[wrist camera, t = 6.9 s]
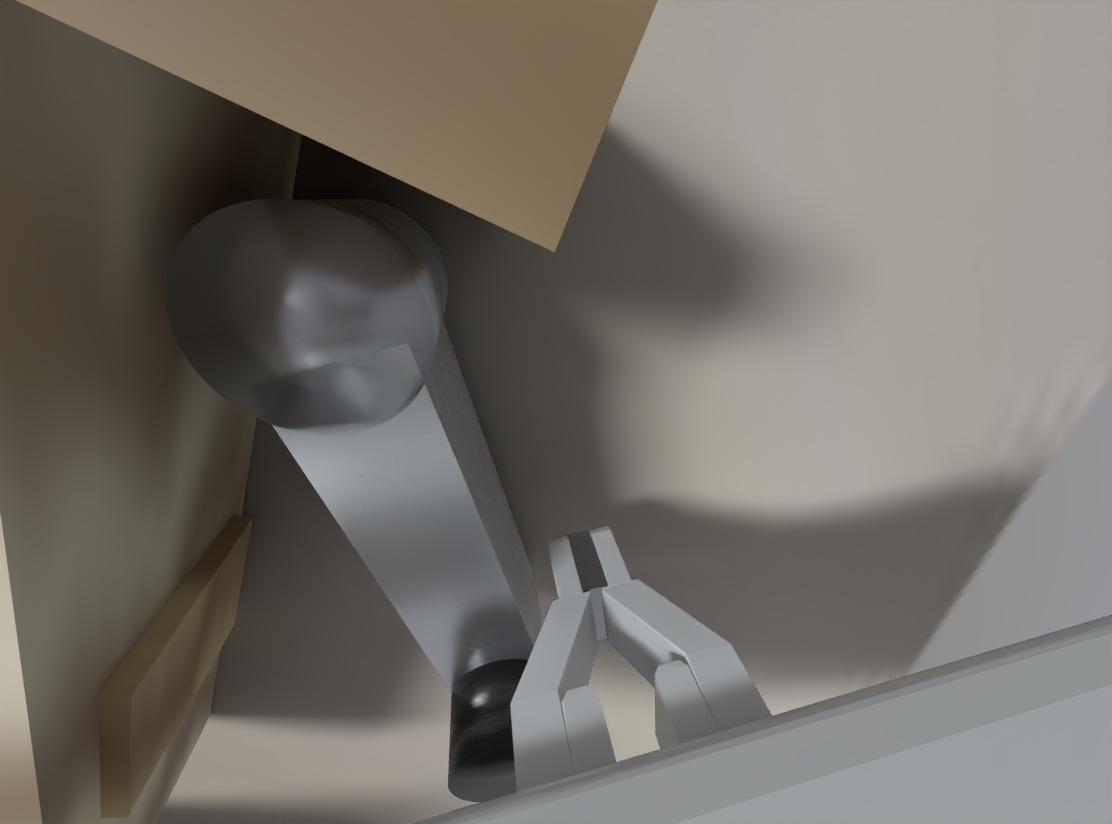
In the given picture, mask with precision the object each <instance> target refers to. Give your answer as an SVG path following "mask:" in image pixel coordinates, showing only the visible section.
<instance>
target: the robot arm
mask: <svg viewBox="0 0 1112 824" xmlns="http://www.w3.org/2000/svg"><path fill="white" fill-rule="evenodd" d="M547 546H548V550H549V555H550V560H551V565H552V570H553V575H554V580H555V585H556V590H557V595H558V599H556V600H553V601H552V604H551V606H550V609H549V611H548V613H547V616H546V618H545V621H544V623H543V626H542V628H541V630H540V633H539V635H538V638H537V640H536V643H535V645H534V648H533V650H532V652H531V655H530V657H529V660H528V662H527V665H526V667H525V669H524V672H523V674H522V677H521V679H520V682H519V684H518V686H517V689H516V691H515V694H514V696H513V699H512V701H511V704H510V706H511V720H512V735H513V749H514V763H515V777H516V792H514V793H511V794H508V795H504V796H501V797H498V798H494V799H491V800H488V801H484V802H481V803H478V804H474V805H471V806H467V807H464V808H461V809H457V810H454V811H451V812H447V813H444V814H441V815H437V816H434V817H431V818H427V819H424V820H420V821H417V822H414V823H410V824H1112V615H1110V616H1106V617H1103V618H1100V619H1096V620H1093V621H1089V622H1086V623H1083V624H1079V625H1076V626H1073V627H1069V628H1066V629H1062V630H1059V631H1056V632H1052V633H1049V634H1046V635H1042V636H1039V637H1036V638H1032V639H1029V640H1026V641H1022V642H1019V643H1015V644H1012V645H1009V646H1005V647H1002V648H999V649H995V650H992V651H988V652H985V653H982V654H978V655H975V656H972V657H968V658H965V659H962V660H958V661H955V662H951V663H948V664H945V665H941V666H938V667H935V668H931V669H928V670H925V671H921V672H918V673H914V674H911V675H908V676H904V677H901V678H898V679H894V680H891V681H888V682H884V683H881V684H877V685H874V686H871V687H867V688H864V689H861V690H857V691H854V692H851V693H847V694H844V695H840V696H837V697H834V698H830V699H827V700H824V701H820V702H817V703H814V704H810V705H807V706H803V707H800V708H797V709H793V710H790V711H787V712H783V713H780V714H777V715H773V716H772V714H771V713H770V711H769V709H768V708H767V706H766V704H765V702H764V701H763V699H762V697H761V695H760V694H759V692H758V690H757V688H756V687H755V685H754V683H753V681H752V680H751V678H750V676H749V675H748V673H747V671H746V669H745V668H744V666H743V664H742V662H741V661H740V659H739V657H738V655H737V654H736V652H735V650H734V648H733V647H732V645H731V644H730V643H729V642H727V641H726V640H725V639H723V638H722V637H720V636H719V635H717V634H716V633H715V632H713V631H712V630H710V629H709V628H708V627H706V626H705V625H703V624H702V623H700V622H699V621H698V620H696V619H695V618H693V617H692V616H690V615H689V614H688V613H686V612H685V611H683V610H682V609H681V608H679V607H678V606H676V605H675V604H673V603H672V602H671V601H669V600H668V599H666V598H665V597H663V596H662V595H661V594H659V593H658V592H656V591H655V590H654V589H652V588H651V587H649V586H648V585H646V584H645V583H644V582H642V581H641V580H639V579H635V580H632V579H631V576H630V574H629V571H628V569H627V567H626V564H625V562H624V559H623V557H622V555H621V552H620V550H619V548H618V545H617V543H616V540H615V538H614V536H613V533H612V531H611V528H610V527H609V526H604V527H600V528H596V529H592V530H588V531H583V532H579V533H575V534H570V535H567V536H562V537H558V538H553V539H548V540H547ZM607 638H608V641H609V642H610V643H611V644H612V645H613V646H614V647H615V648H616V649H617V650H618V651H619V652H620V653H621V654H622V655H623V656H624V657H625V659H626V660H627V661H628V662H629V663H630V664H631V665H632V666H633V667H634V668H635V669H636V670H637V671H638V672H639V673H640V674H641V675H642V676H643V677H644V678H645V679H646V680H647V681H648V682H649V683H650V684H651V685H652V686H653V687H654V688H655V734H656V737H657V740H658V743H659V746H660V749H659V750H656V751H652V752H649V753H645V754H642V755H639V756H635V757H632V758H629V759H625V760H622V761H619V762H616V759H615V755H614V751H613V747H612V744H611V740H610V736H609V732H608V728H607V725H606V721H605V717H604V713H603V709H602V706H601V702H600V698H599V694H598V690H596V689H595V688H593V687H591V686H589V685H588V684H589V679H590V675H591V671H592V667H593V662H594V658H595V654H596V650H597V646H598V641H599V640H603V639H607Z"/></svg>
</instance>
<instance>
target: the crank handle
mask: <svg viewBox="0 0 1112 824" xmlns="http://www.w3.org/2000/svg"><path fill="white" fill-rule="evenodd" d="M447 297H448V277H447V271H446V268H445V264H444V261H443V259H442V256H441V254H440V252H439V250H438V248H437V246H436V244H435V243H434V241H433V240H432V239H431V237H430V236H429V235H428V233H427V232H426V231H425V230H424V229H423V228H422V227H421V226H420V225H419V224H418V223H417V222H416V221H414V220H413V219H412V218H411V217H409V216H408V215H406V214H405V213H403V212H401V211H400V210H398V209H396V208H394V207H392V206H389V205H387V204H384V203H381V202H377V201H373V200H365V199H259V200H253V201H246V202H240V203H237V204H234V205H231V206H228V207H225V208H222V209H220V210H218V211H216V212H214V213H212V214H210V215H208V216H207V217H205V218H204V219H203V220H202V221H200V222H199V223H198V224H196V225H195V226H194V227H193V228H192V229H191V230H190V231H189V232H188V233H187V234H186V235H185V237H184V238H183V239H182V240H181V242H180V244H179V245H178V247H177V249H176V250H175V252H174V254H173V257H172V260H171V262H170V265H169V268H168V273H167V279H166V306H167V312H168V318H169V321H170V324H171V327H172V330H173V333H174V336H175V338H176V340H177V342H178V344H179V346H180V348H181V350H182V352H183V353H184V355H185V356H186V358H187V359H188V361H189V363H190V364H191V365H192V367H193V368H194V369H195V370H196V371H197V373H198V374H199V375H200V376H201V378H202V379H203V380H204V381H205V382H206V383H207V384H208V385H209V386H210V387H211V388H212V389H213V390H215V391H216V392H217V393H218V394H220V395H221V396H222V397H223V398H224V399H226V400H227V401H228V402H230V403H231V404H233V405H234V406H236V407H237V408H239V409H240V410H242V411H244V412H246V413H248V414H249V415H251V416H253V417H255V418H257V419H259V420H262V421H264V422H266V423H269V424H271V425H273V427H274V428H275V430H276V431H277V433H278V434H279V436H280V437H281V439H282V440H283V442H284V443H285V445H286V446H287V448H288V449H289V451H290V452H291V454H292V455H293V457H294V458H295V460H296V461H297V463H298V464H299V466H300V467H301V469H302V470H303V472H304V473H305V475H306V476H307V478H308V479H309V481H310V482H311V484H312V485H313V487H314V488H315V490H316V491H317V493H318V494H319V496H320V497H321V499H322V500H323V502H324V503H325V505H326V506H327V508H328V509H329V511H330V512H331V514H332V515H333V517H334V518H335V520H336V521H337V523H338V524H339V526H340V527H341V529H342V530H343V532H344V533H345V535H346V536H347V538H348V539H349V541H350V542H351V544H352V545H353V547H354V548H355V550H356V551H357V553H358V554H359V556H360V557H361V559H362V560H363V562H364V563H365V564H366V566H367V567H368V569H369V570H370V572H371V573H372V575H373V576H374V578H375V579H376V581H377V582H378V584H379V585H380V587H381V588H382V590H383V591H384V593H385V594H386V596H387V597H388V599H389V600H390V602H391V603H392V605H393V606H394V608H395V609H396V611H397V612H398V614H399V615H400V617H401V618H402V620H403V621H404V623H405V624H406V626H407V627H408V629H409V630H410V632H411V633H412V635H413V636H414V638H415V639H416V641H417V642H418V644H419V645H420V647H421V648H422V650H423V651H424V653H425V654H426V656H427V657H428V659H429V660H430V662H431V663H432V665H433V666H434V668H435V669H436V671H437V672H438V674H439V675H440V677H441V678H442V680H443V681H444V683H445V684H446V686H447V687H448V689H449V690H450V692H451V693H452V695H451V721H450V747H449V773H448V787H449V790H450V792H451V793H452V794H453V795H454V796H456V797H458V798H460V799H463V800H467V801H472V802H484V801H488V800H491V799H494V798H498V797H501V796H504V795H508V794H511V793H514V792H516V777H515V763H514V749H513V735H512V720H511V706H510V704H511V701H512V699H513V696H514V694H515V691H516V689H517V686H518V684H519V682H520V679H521V677H522V674H523V672H524V669H525V667H526V665H527V662H528V660H529V657H530V655H531V652H532V650H533V648H534V645H535V643H536V640H537V638H538V635H539V633H540V630H541V628H542V626H543V624H542V618H541V612H540V606H539V600H538V594H537V589H536V583H535V577H534V574H533V571H532V568H531V565H530V562H529V560H528V557H527V554H526V551H525V548H524V546H523V543H522V540H521V537H520V534H519V532H518V529H517V526H516V523H515V520H514V518H513V515H512V512H511V509H510V506H509V504H508V501H507V498H506V495H505V492H504V490H503V487H502V484H501V481H500V478H499V476H498V473H497V470H496V467H495V464H494V462H493V459H492V456H491V453H490V450H489V448H488V445H487V442H486V439H485V436H484V434H483V431H482V428H481V425H480V423H479V420H478V417H477V414H476V411H475V409H474V406H473V403H472V400H471V397H470V395H469V392H468V389H467V386H466V383H465V381H464V378H463V375H462V372H461V369H460V367H459V364H458V361H457V358H456V355H455V353H454V350H453V347H452V344H451V341H450V339H449V336H448V333H447V330H446V327H445V325H444V322H443V316H444V311H445V307H446V303H447Z"/></svg>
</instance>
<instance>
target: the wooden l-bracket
mask: <svg viewBox="0 0 1112 824" xmlns="http://www.w3.org/2000/svg"><path fill="white" fill-rule="evenodd" d="M656 3H657V0H0V824H156V822H157V820H158V818H159V816H160V814H161V812H162V810H163V808H164V806H165V804H166V802H167V800H168V798H169V796H170V794H171V792H172V790H173V788H174V786H175V784H176V782H177V780H178V778H179V776H180V774H181V772H182V770H183V768H184V766H185V764H186V762H187V760H188V758H189V756H190V754H191V752H192V750H193V748H194V746H195V744H196V742H197V740H198V738H199V736H200V734H201V732H202V730H203V728H204V726H205V724H206V722H207V720H208V719H209V717H210V713H211V707H212V700H213V694H214V688H215V681H216V675H217V669H218V662H219V656H220V650H221V648H222V646H223V644H224V643H225V641H226V639H227V637H228V635H229V634H230V632H231V630H232V628H233V626H234V625H235V620H236V614H237V608H238V603H239V597H240V591H241V585H242V579H243V574H244V568H245V562H246V556H247V550H248V545H249V539H250V533H251V527H252V521H253V517H250V516H244V515H242V511H243V504H244V498H245V492H246V485H247V479H248V473H249V466H250V460H251V454H252V447H253V441H254V435H255V428H256V422H257V418H255V417H253V416H251V415H249V414H248V413H246V412H244V411H242V410H240V409H239V408H237V407H236V406H234V405H233V404H231V403H230V402H228V401H227V400H226V399H224V398H223V397H222V396H221V395H220V394H218V393H217V392H216V391H215V390H213V389H212V388H211V387H210V386H209V385H208V384H207V383H206V382H205V381H204V380H203V379H202V378H201V376H200V375H199V374H198V373H197V371H196V370H195V369H194V368H193V367H192V365H191V364H190V363H189V361H188V359H187V358H186V356H185V355H184V353H183V352H182V350H181V348H180V346H179V344H178V342H177V340H176V338H175V336H174V333H173V330H172V327H171V324H170V321H169V318H168V312H167V306H166V279H167V273H168V268H169V265H170V262H171V260H172V257H173V254H174V252H175V250H176V249H177V247H178V245H179V244H180V242H181V240H182V239H183V238H184V237H185V235H186V234H187V233H188V232H189V231H190V230H191V229H192V228H193V227H194V226H195V225H196V224H198V223H199V222H200V221H202V220H203V219H204V218H205V217H207V216H208V215H210V214H212V213H214V212H216V211H218V210H220V209H222V208H225V207H228V206H231V205H234V204H237V203H240V202H246V201H253V200H259V199H292V195H293V188H294V182H295V176H296V169H297V163H298V157H299V150H300V144H301V138H302V134H303V135H305V136H307V137H309V138H311V139H313V140H316V141H318V142H320V143H322V144H324V145H326V146H328V147H330V148H333V149H335V150H337V151H339V152H341V153H343V154H345V155H348V156H350V157H352V158H354V159H356V160H358V161H360V162H363V163H365V164H367V165H369V166H371V167H373V168H375V169H378V170H380V171H382V172H384V173H386V174H388V175H390V176H393V177H395V178H397V179H399V180H401V181H403V182H405V183H407V184H410V185H412V186H414V187H416V188H418V189H420V190H422V191H425V192H427V193H429V194H431V195H433V196H435V197H437V198H440V199H442V200H444V201H446V202H448V203H450V204H452V205H455V206H457V207H459V208H461V209H463V210H465V211H467V212H469V213H472V214H474V215H476V216H478V217H480V218H482V219H484V220H487V221H489V222H491V223H493V224H495V225H497V226H499V227H502V228H504V229H506V230H508V231H510V232H512V233H514V234H517V235H519V236H521V237H523V238H525V239H527V240H529V241H531V242H534V243H536V244H538V245H540V246H542V247H544V248H546V249H549V250H551V251H553V252H555V250H556V248H557V245H558V243H559V240H560V238H561V235H562V233H563V230H564V228H565V226H566V223H567V221H568V218H569V216H570V213H571V211H572V208H573V206H574V204H575V201H576V199H577V196H578V194H579V191H580V189H581V186H582V184H583V181H584V179H585V177H586V174H587V172H588V169H589V167H590V164H591V162H592V159H593V157H594V155H595V152H596V150H597V147H598V145H599V142H600V140H601V137H602V135H603V133H604V130H605V128H606V125H607V123H608V120H609V118H610V115H611V113H612V110H613V108H614V106H615V103H616V101H617V98H618V96H619V93H620V91H621V88H622V86H623V84H624V81H625V79H626V76H627V74H628V71H629V69H630V66H631V64H632V61H633V59H634V57H635V54H636V52H637V49H638V47H639V44H640V42H641V39H642V37H643V35H644V32H645V30H646V27H647V25H648V22H649V20H650V17H651V15H652V12H653V10H654V8H655V5H656Z"/></svg>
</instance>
